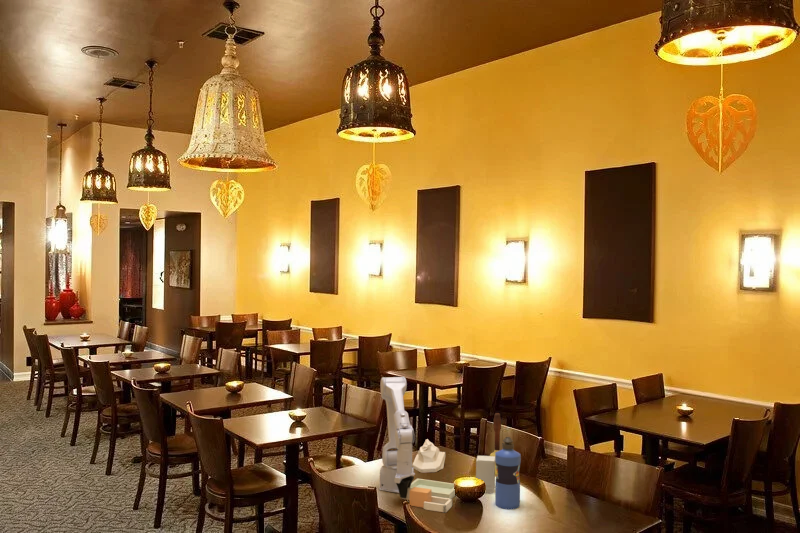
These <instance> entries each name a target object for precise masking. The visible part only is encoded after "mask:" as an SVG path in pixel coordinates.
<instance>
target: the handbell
mask: <svg viewBox="0 0 800 533" xmlns="http://www.w3.org/2000/svg"><path fill="white" fill-rule="evenodd" d="M501 429H502V419H501V413H499V412H495V413H494V417H493V430H494V431H493V433H494V451H493V452H491V453H490V454H489V456H495V453H496V452H497V451H500V450H501V449H500V444H501V443H500V434H501ZM496 475H497V470H496V462H495V476H496Z"/></svg>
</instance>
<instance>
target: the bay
mask: <svg viewBox="0 0 800 533" xmlns="http://www.w3.org/2000/svg"><path fill="white" fill-rule="evenodd" d="M452 507H453V498H452V499H449V498H442V497H435V496H432V497H431V502H424V508H423V510H427V511H431V512H432V511H434V512H437V513H438V512H440V513H441V512H442V513H445V514H446V513H447V512H448V511H449V510H450V509H451V508H452Z"/></svg>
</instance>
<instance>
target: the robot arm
mask: <svg viewBox="0 0 800 533" xmlns="http://www.w3.org/2000/svg"><path fill="white" fill-rule="evenodd" d="M379 384H380V396H381V399H383V400H384V401H385V405H386V417H387V419H386V420H387V432H388V442H387V443H385V444H384V445H383V446H382V454H381V458H382V459H381V460H382V466H381V468H380V471H379V488H378V490H379V491H383V492H390V493H398V494H399V497H400V499H401V498H406V496H407V489H408V487H409V488H410V486H411V483H412V482H413V481H414V480H415V479H414V478H415V475H416V473H415V469H414V467H413V466H412V464H413V444H414V442H415V431H414V428H413V426H412V424H411V422H410V417H409V413H408V412H407V411H406V410H405V402H404V396H405V393H406V391H407V389H408V388H407V387H408V386H407V385H408V383H407V379H406V377H405V376H393V377H390V376H389V377H386V376H385V377H384V376H382V377H381V378H380V383H379Z"/></svg>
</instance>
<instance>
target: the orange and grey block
mask: <svg viewBox="0 0 800 533" xmlns="http://www.w3.org/2000/svg"><path fill="white" fill-rule="evenodd" d="M431 497H432V489H425V488H418V487H413V488H409V487H408V489H407V496H406V498H400V499H402V500H408V501H409V504H410V505H411V507H417V508H423V509H424V502H431ZM410 505H409V506H410Z"/></svg>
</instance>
